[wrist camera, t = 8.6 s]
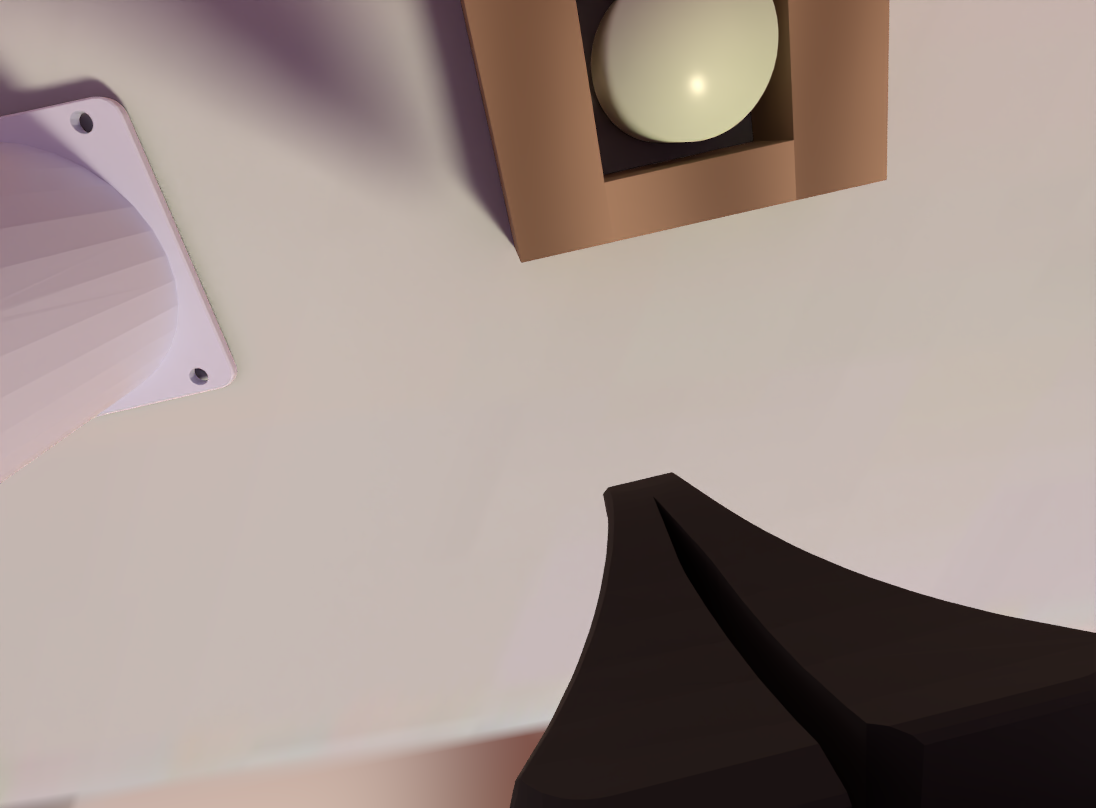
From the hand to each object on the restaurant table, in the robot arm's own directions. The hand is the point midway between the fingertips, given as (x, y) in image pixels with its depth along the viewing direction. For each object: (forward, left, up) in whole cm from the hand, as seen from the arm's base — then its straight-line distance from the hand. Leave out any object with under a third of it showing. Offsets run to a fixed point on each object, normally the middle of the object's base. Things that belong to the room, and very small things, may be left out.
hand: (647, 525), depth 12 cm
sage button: (+4, +8, -9) cm, 13 cm away
